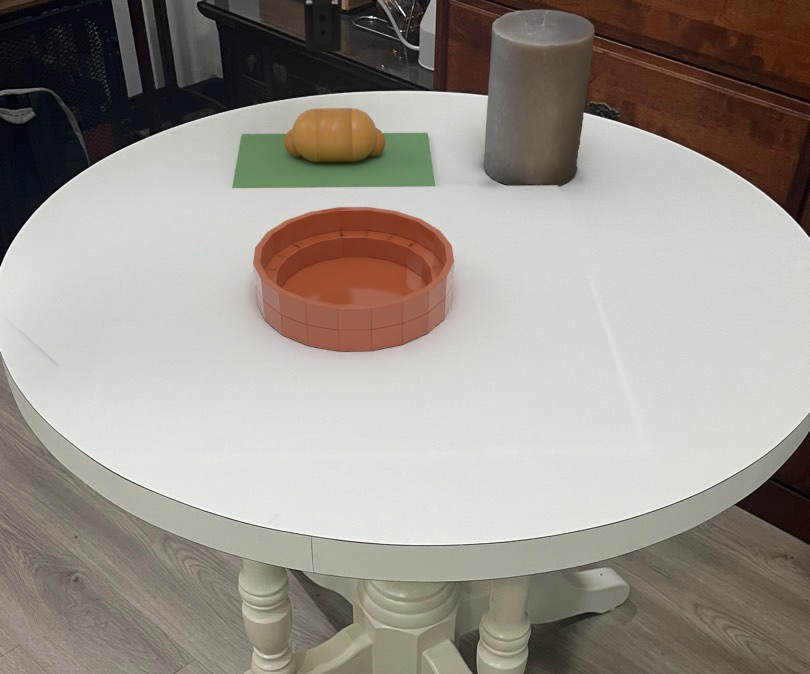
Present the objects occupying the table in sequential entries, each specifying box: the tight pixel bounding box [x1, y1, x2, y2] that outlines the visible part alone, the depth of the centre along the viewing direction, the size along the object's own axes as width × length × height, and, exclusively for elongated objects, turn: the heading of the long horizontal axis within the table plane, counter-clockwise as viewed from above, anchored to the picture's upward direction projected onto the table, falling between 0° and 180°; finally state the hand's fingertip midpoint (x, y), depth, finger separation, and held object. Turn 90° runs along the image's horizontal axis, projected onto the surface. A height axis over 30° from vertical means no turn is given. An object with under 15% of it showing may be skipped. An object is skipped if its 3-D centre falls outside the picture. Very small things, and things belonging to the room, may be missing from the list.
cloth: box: [231, 132, 436, 189], centre depth 102 cm, size 20×13×1 cm, turn 92°
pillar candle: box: [483, 9, 596, 187], centre depth 97 cm, size 10×10×15 cm
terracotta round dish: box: [252, 206, 455, 352], centre depth 82 cm, size 16×16×4 cm
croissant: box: [284, 107, 386, 162], centre depth 101 cm, size 10×5×5 cm, turn 92°
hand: (324, 32), depth 93 cm, fingers open, 9 cm apart
